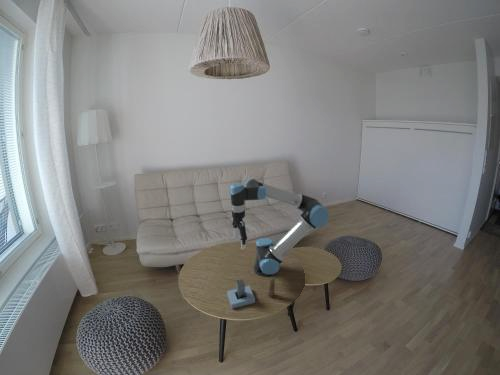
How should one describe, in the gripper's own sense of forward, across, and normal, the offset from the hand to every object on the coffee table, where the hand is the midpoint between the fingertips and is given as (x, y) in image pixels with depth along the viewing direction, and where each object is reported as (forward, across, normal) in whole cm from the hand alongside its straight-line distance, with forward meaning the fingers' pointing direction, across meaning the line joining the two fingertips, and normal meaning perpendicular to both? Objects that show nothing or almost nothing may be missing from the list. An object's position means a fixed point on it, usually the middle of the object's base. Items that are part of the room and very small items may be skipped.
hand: (239, 242), depth 143 cm
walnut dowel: (+31, +16, +13) cm, 37 cm away
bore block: (+31, +11, -4) cm, 33 cm away
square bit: (+31, +11, -4) cm, 33 cm away
